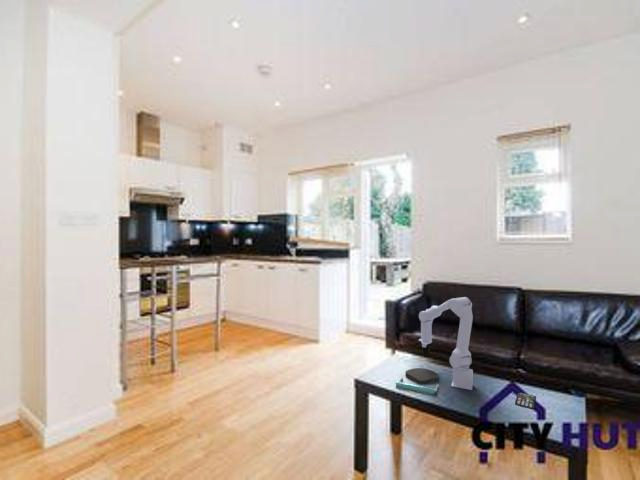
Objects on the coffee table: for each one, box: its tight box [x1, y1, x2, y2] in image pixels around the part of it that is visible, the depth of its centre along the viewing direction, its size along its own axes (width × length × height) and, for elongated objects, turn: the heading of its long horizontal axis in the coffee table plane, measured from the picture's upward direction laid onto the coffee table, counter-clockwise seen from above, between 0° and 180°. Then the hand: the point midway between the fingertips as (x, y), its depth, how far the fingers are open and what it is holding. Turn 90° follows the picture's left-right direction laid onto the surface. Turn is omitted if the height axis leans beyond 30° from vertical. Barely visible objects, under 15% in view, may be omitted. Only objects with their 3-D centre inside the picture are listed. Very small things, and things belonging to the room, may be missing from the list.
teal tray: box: [395, 377, 440, 396], centre depth 172 cm, size 19×10×2 cm, turn 63°
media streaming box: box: [404, 367, 440, 385], centre depth 183 cm, size 15×15×3 cm
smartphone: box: [514, 392, 537, 410], centre depth 158 cm, size 7×1×15 cm
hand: (426, 356), depth 194 cm, fingers closed
